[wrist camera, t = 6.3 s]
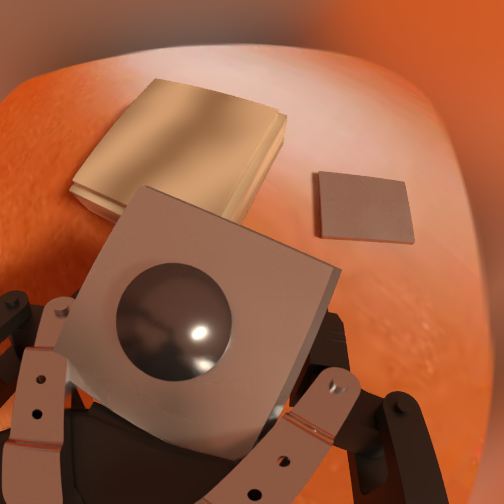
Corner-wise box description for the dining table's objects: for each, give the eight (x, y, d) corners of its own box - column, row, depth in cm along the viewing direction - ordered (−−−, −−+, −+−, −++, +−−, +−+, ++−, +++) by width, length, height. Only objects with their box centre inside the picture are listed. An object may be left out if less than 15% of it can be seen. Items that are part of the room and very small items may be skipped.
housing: (151, 360, 15) (19, 365, 5) (195, 271, 16) (130, 155, 6) (245, 406, 14) (246, 504, 4) (288, 314, 16) (362, 251, 6)
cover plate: (319, 241, 20) (322, 235, 19) (316, 178, 22) (318, 171, 21) (408, 247, 20) (414, 242, 19) (399, 188, 22) (404, 181, 21)
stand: (88, 210, 20) (63, 184, 16) (164, 107, 23) (154, 73, 19) (216, 272, 19) (207, 252, 15) (282, 144, 22) (288, 107, 18)
